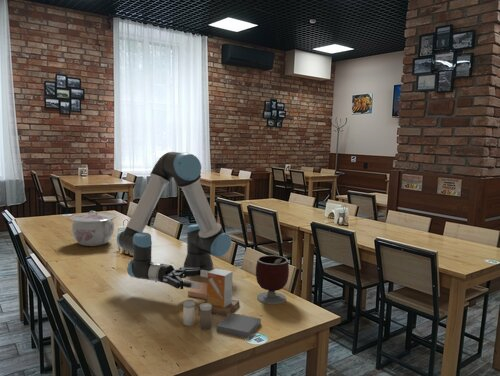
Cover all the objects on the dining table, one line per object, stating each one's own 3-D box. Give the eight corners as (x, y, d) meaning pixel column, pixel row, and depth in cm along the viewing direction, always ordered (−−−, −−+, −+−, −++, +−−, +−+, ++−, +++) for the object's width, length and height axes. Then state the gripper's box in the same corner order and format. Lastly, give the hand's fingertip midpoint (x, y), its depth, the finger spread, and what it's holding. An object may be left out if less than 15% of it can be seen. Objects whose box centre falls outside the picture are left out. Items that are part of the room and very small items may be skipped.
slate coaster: (231, 317, 159) (231, 312, 159) (260, 323, 154) (260, 318, 154) (216, 331, 148) (216, 325, 148) (248, 338, 143) (248, 332, 143)
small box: (206, 304, 166) (207, 272, 164) (215, 298, 172) (215, 267, 170) (224, 308, 162) (224, 275, 161) (232, 302, 168) (233, 271, 166)
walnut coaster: (212, 300, 175) (212, 295, 175) (239, 305, 171) (239, 300, 170) (198, 311, 164) (198, 306, 164) (226, 316, 160) (226, 311, 159)
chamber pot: (71, 239, 268) (70, 207, 265) (116, 237, 276) (116, 206, 273) (66, 251, 241) (65, 215, 239) (116, 248, 249) (116, 214, 247)
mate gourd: (250, 294, 183) (251, 249, 180) (279, 291, 187) (280, 247, 185) (264, 308, 168) (265, 260, 166) (295, 304, 173) (297, 257, 171)
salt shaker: (185, 319, 156) (185, 298, 154) (196, 321, 155) (196, 300, 153) (180, 324, 152) (181, 303, 150) (191, 326, 151) (192, 305, 149)
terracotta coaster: (201, 286, 191) (201, 282, 190) (225, 290, 186) (225, 286, 186) (187, 295, 180) (187, 291, 179) (212, 300, 175) (212, 295, 175)
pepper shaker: (203, 323, 153) (203, 302, 152) (213, 325, 152) (213, 304, 151) (197, 328, 149) (197, 306, 148) (207, 330, 148) (208, 308, 147)
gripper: (177, 272, 188) (220, 279, 180) (144, 291, 165) (192, 300, 157) (177, 256, 187) (220, 262, 179) (144, 273, 164) (192, 281, 156)
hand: (207, 280), depth 168 cm, fingers open, 13 cm apart
